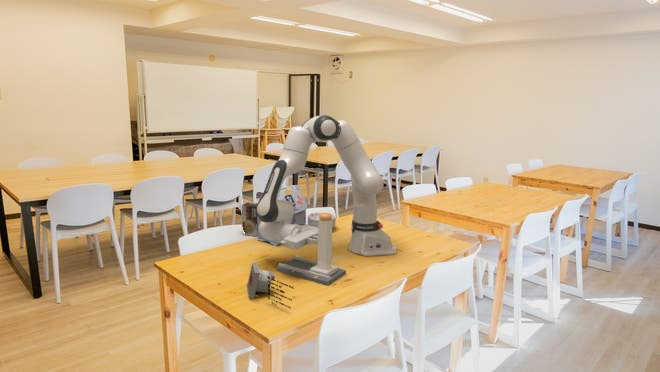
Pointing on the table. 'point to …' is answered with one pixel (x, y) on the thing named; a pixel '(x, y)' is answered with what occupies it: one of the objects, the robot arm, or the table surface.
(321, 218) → the slider handle
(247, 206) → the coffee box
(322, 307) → the table surface
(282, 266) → the slider track
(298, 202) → the lunch bag
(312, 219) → the paper bowls
